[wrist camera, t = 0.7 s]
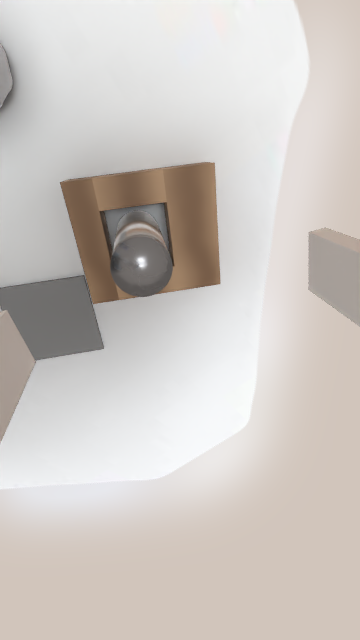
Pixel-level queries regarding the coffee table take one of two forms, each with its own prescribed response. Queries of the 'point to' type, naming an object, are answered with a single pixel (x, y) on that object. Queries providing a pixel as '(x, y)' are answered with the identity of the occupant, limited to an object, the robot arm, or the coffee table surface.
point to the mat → (53, 316)
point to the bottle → (4, 76)
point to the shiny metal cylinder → (140, 255)
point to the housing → (180, 212)
